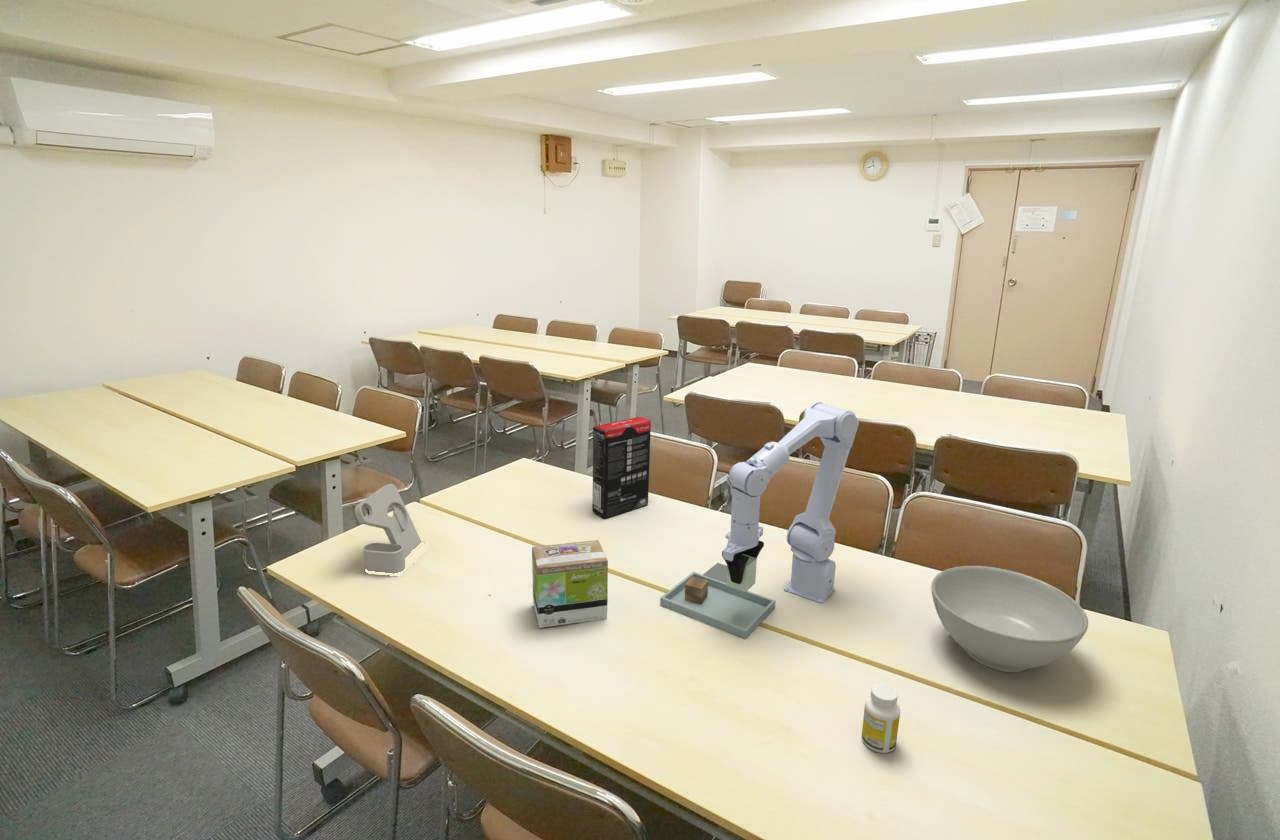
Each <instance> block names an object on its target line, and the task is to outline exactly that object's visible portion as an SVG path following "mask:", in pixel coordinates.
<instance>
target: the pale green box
mask: <svg viewBox="0 0 1280 840" xmlns="http://www.w3.org/2000/svg"><path fill="white" fill-rule="evenodd" d="M742 555H744V556H747V557H750V558H749V560H748V561H747V563H746V566H745V569H744V574H743V579H742V582H741V584H737V583H734V582H731V578H730V574H729V570H728V569H727V586H729V587H732V588H735V589H738V590H741V591H743V592H746V591H749V590H750V589H751V588H752V587H753V586H754V585H755V584H756V578H757V576H756V575H757V562H758V561H757V560H758V557H757V558H754V557H751V556H748V555H745V554H742Z"/></svg>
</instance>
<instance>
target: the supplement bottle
mask: <svg viewBox="0 0 1280 840" xmlns="http://www.w3.org/2000/svg"><path fill="white" fill-rule="evenodd" d="M870 690H871V691H870V695H869V696H868V697H867V698H866V700H865V702H864V703H865V704H864V711H863V718H862V719H863V720H862V726H861V727H862V728H861V739H862V742H863V744H864V745H865V746H866V747H867V748H868V749H870V750H871V751H873V752H877V753H880V754H887V753H890V752H892V751H895V749H896V746H897V740H898V732H899V726H900V724H899V723H900V717H901V708H900V705H899V704H898V692H897V690H896V689H895V688H894V687H892V686H890V685H889V684H885V683H876V684H874V685H872V686H871V689H870Z"/></svg>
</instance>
